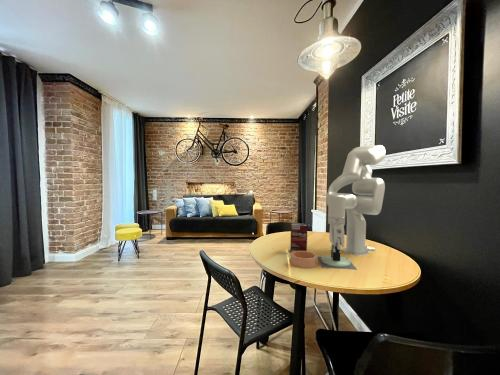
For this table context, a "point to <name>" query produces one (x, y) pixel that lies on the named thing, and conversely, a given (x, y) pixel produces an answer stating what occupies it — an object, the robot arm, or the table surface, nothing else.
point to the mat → (336, 267)
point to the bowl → (304, 259)
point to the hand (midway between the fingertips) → (335, 258)
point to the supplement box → (298, 237)
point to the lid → (339, 264)
